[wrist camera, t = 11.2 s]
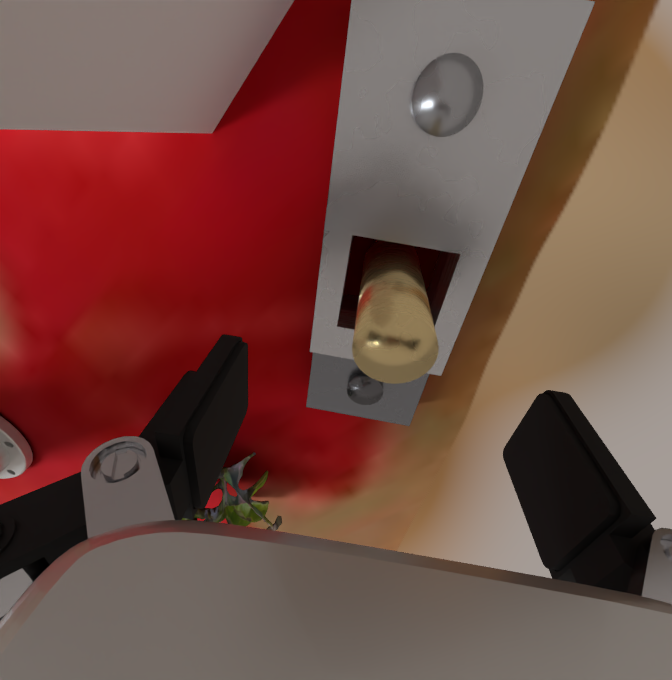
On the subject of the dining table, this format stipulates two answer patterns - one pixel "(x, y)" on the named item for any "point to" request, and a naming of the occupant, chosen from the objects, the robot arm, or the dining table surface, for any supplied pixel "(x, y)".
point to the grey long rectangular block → (430, 161)
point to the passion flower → (238, 500)
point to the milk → (128, 62)
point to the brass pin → (393, 316)
